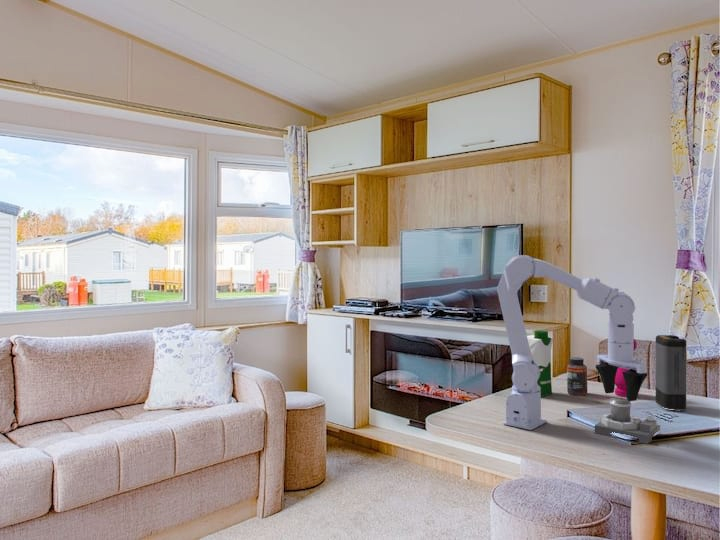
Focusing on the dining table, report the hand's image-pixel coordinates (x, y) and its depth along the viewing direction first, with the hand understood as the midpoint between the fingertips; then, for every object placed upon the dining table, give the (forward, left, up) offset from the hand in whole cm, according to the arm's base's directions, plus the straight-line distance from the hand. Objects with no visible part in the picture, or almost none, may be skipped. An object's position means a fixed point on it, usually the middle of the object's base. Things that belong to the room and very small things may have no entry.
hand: (620, 396), depth 137 cm
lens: (0, 0, -7) cm, 7 cm away
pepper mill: (+38, +11, -9) cm, 41 cm away
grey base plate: (0, -2, -9) cm, 9 cm away
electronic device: (+32, -3, -9) cm, 33 cm away
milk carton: (+22, +33, -9) cm, 41 cm away
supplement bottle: (+30, +23, -9) cm, 39 cm away
